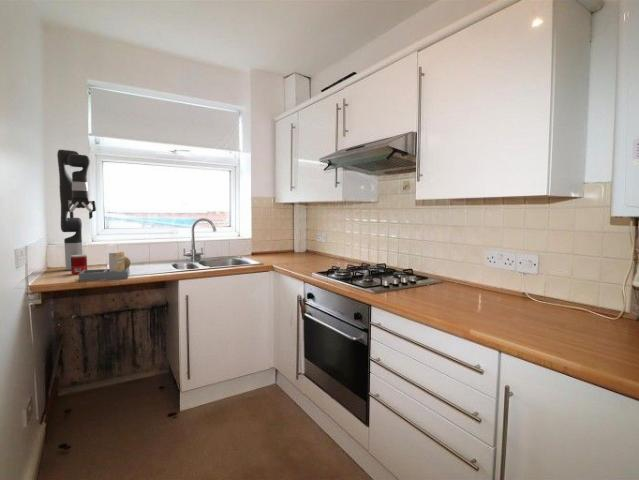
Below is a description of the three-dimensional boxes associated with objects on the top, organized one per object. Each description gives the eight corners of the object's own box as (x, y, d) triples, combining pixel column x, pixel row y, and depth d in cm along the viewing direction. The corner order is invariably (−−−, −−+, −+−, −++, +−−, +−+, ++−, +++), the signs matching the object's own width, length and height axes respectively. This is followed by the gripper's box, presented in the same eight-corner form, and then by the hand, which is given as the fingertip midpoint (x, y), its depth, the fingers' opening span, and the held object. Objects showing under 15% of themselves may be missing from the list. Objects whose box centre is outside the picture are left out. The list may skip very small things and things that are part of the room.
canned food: (90, 273, 214) (89, 255, 213) (76, 275, 207) (75, 256, 206) (82, 272, 217) (81, 254, 216) (68, 274, 210) (67, 255, 209)
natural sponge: (113, 274, 211) (113, 257, 210) (114, 271, 219) (113, 255, 218) (130, 273, 215) (130, 256, 214) (130, 270, 223) (130, 255, 222)
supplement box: (118, 276, 198) (117, 253, 197) (109, 276, 198) (108, 252, 197) (125, 273, 206) (124, 251, 205) (116, 273, 206) (116, 251, 205)
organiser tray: (83, 277, 201) (83, 270, 200) (129, 274, 210) (129, 267, 210) (79, 281, 189) (78, 273, 189) (127, 278, 198) (127, 271, 198)
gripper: (96, 191, 206) (97, 218, 207) (66, 190, 200) (67, 218, 202) (93, 190, 199) (95, 219, 201) (63, 189, 194) (64, 219, 195)
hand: (81, 218), depth 201 cm, fingers open, 8 cm apart
